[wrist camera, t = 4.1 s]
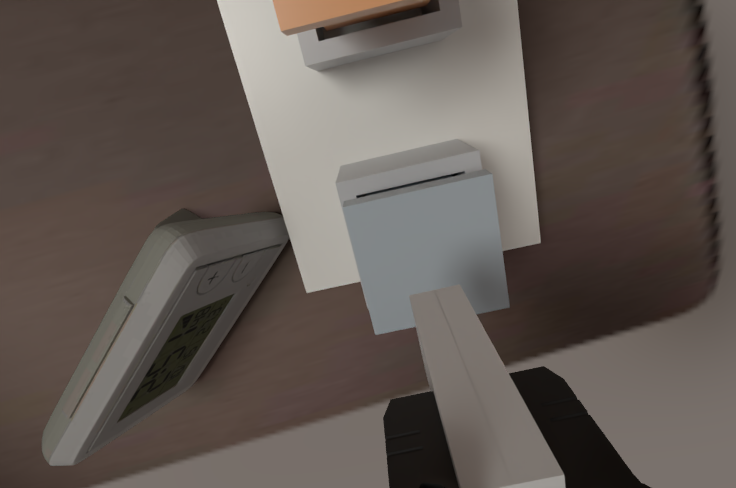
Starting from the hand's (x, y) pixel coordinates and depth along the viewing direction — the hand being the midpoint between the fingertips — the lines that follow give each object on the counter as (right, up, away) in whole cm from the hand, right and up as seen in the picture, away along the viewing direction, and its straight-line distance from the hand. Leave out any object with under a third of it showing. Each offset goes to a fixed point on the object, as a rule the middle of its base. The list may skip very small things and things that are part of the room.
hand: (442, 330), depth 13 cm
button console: (-1, +11, +14) cm, 18 cm away
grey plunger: (0, +5, +13) cm, 14 cm away
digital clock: (-14, -1, +18) cm, 23 cm away
